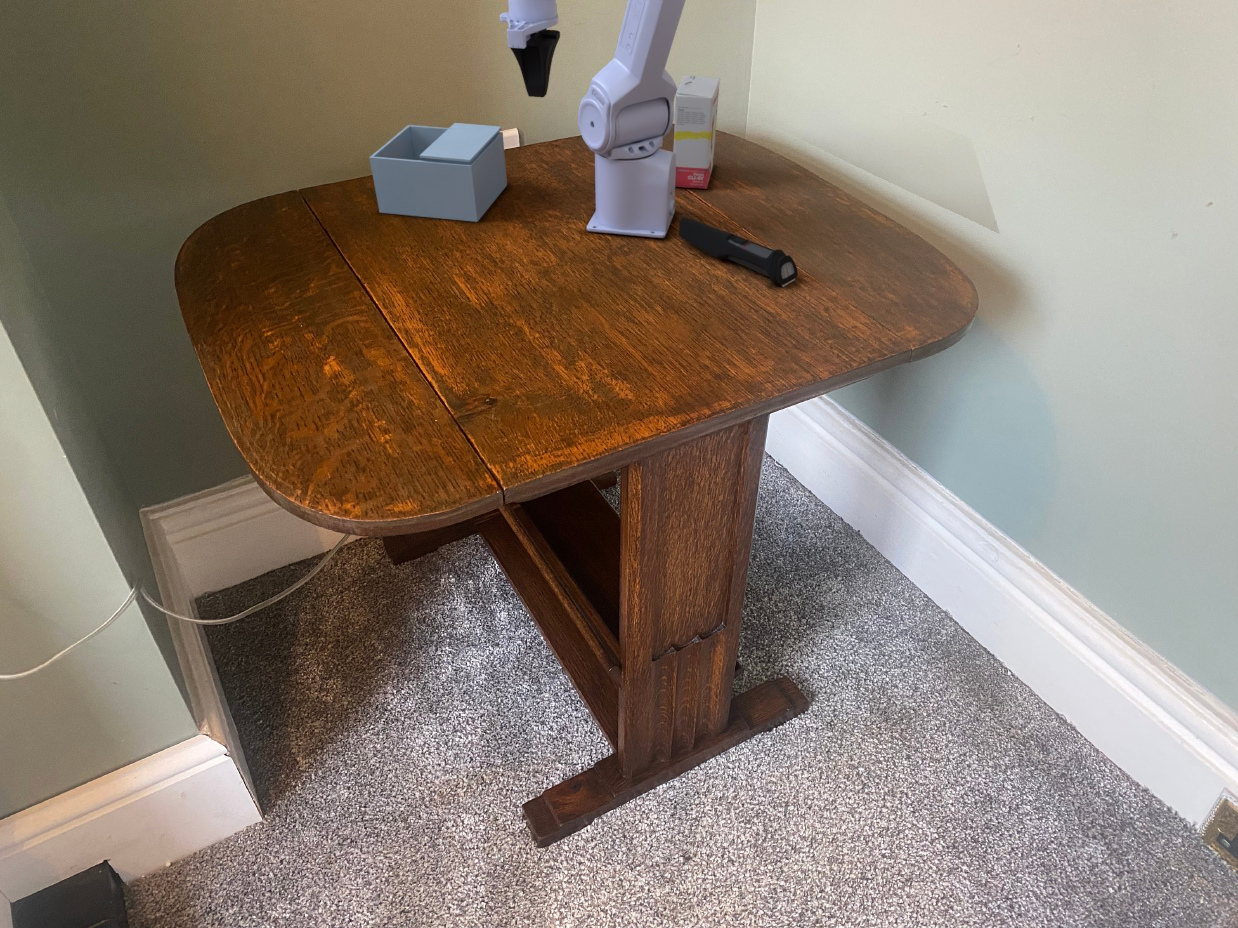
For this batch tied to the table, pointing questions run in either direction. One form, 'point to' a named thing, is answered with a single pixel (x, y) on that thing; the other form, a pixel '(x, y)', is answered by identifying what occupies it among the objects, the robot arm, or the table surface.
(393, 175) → the grey box
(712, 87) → the ink box
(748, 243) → the electric trimmer
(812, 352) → the table surface
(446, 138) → the panel
